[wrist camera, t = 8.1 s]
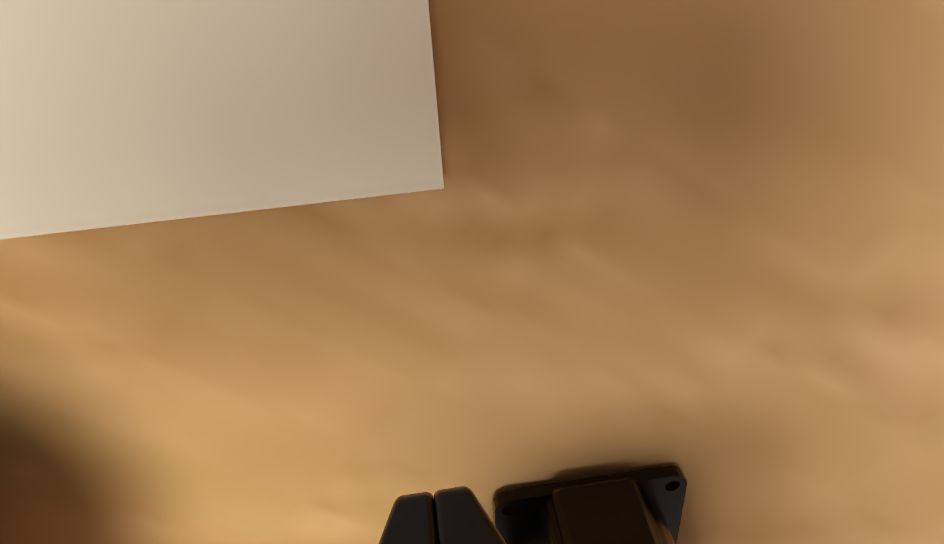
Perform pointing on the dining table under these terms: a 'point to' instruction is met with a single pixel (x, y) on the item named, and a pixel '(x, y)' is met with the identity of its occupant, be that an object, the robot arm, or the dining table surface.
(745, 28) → the dining table surface
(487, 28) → the dining table surface
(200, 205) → the mat
